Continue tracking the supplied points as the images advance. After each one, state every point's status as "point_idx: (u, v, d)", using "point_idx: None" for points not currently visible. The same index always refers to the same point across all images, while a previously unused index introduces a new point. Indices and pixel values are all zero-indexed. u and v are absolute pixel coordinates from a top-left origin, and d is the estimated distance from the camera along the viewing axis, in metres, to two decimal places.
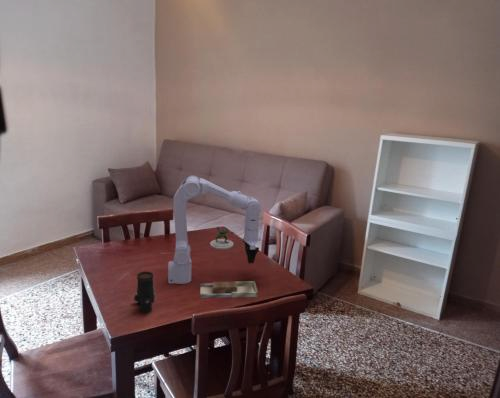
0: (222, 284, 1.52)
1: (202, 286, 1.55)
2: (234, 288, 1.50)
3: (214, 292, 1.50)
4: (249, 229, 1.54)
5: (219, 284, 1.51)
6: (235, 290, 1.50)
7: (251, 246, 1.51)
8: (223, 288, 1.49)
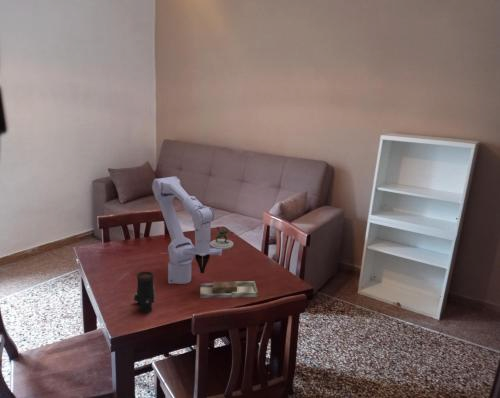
0: (222, 284, 1.52)
1: (202, 286, 1.55)
2: (234, 288, 1.50)
3: (214, 292, 1.50)
4: (195, 238, 1.44)
5: (219, 284, 1.51)
6: (235, 290, 1.50)
7: (183, 250, 1.46)
8: (223, 288, 1.49)
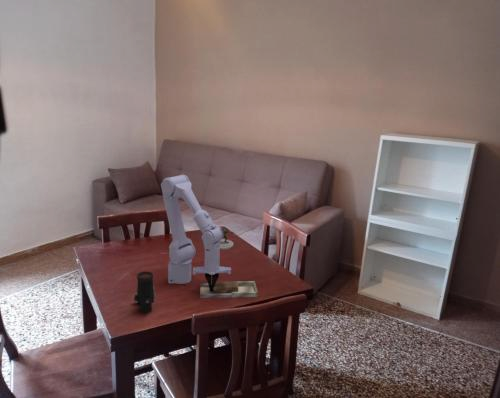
0: (224, 284, 1.52)
1: (202, 286, 1.55)
2: (235, 288, 1.50)
3: (216, 292, 1.50)
4: (205, 258, 1.46)
5: (221, 284, 1.51)
6: (236, 290, 1.50)
7: None
8: (225, 288, 1.50)
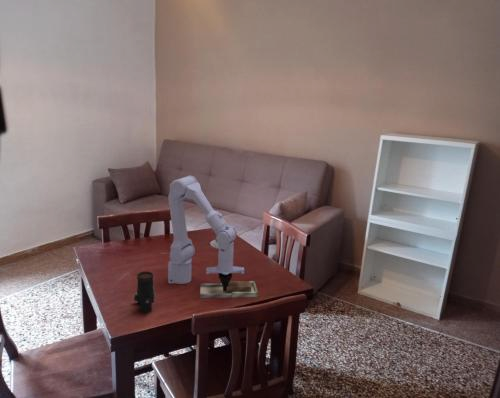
0: (237, 284, 1.52)
1: (202, 286, 1.55)
2: (248, 287, 1.51)
3: (229, 291, 1.50)
4: (219, 258, 1.47)
5: (234, 284, 1.52)
6: (249, 290, 1.51)
7: (206, 269, 1.50)
8: (238, 288, 1.50)
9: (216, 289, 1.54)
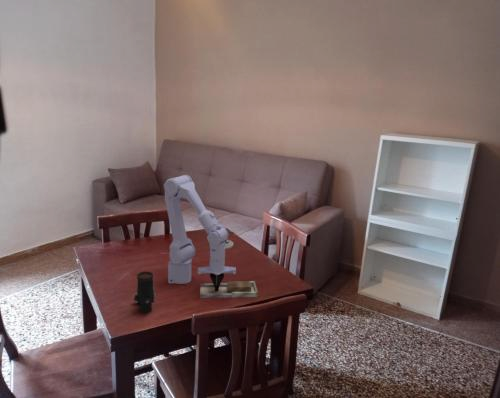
0: (237, 284, 1.52)
1: (202, 286, 1.55)
2: (248, 287, 1.51)
3: (229, 291, 1.50)
4: (211, 258, 1.46)
5: (234, 284, 1.52)
6: (249, 290, 1.51)
7: (198, 269, 1.49)
8: (238, 288, 1.50)
9: None
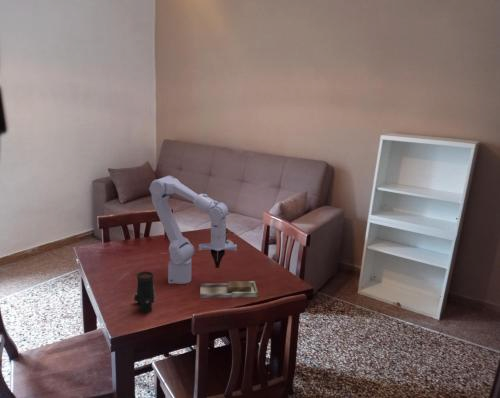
0: (237, 284, 1.52)
1: (202, 286, 1.55)
2: (248, 287, 1.51)
3: (229, 291, 1.50)
4: (212, 235, 1.47)
5: (234, 284, 1.52)
6: (249, 290, 1.51)
7: (199, 245, 1.50)
8: (238, 288, 1.50)
9: (216, 289, 1.54)
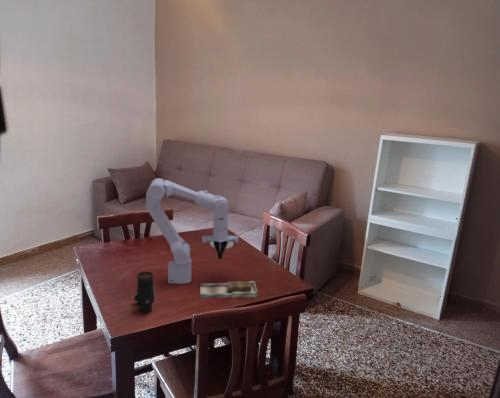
0: (237, 284, 1.52)
1: (202, 286, 1.55)
2: (248, 287, 1.51)
3: (229, 291, 1.50)
4: (217, 228, 1.53)
5: (234, 284, 1.52)
6: (249, 290, 1.51)
7: (202, 238, 1.57)
8: (238, 288, 1.50)
9: (216, 289, 1.54)
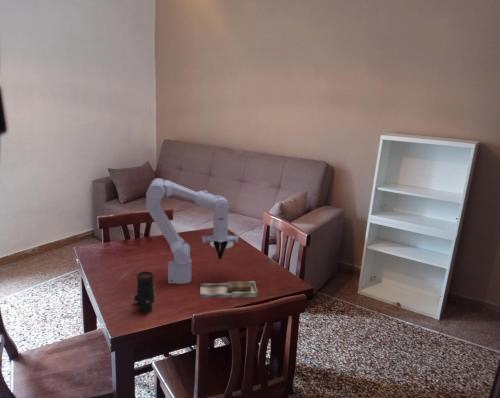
0: (237, 284, 1.52)
1: (202, 286, 1.55)
2: (248, 287, 1.51)
3: (229, 291, 1.50)
4: (217, 228, 1.53)
5: (234, 284, 1.52)
6: (249, 290, 1.51)
7: (202, 238, 1.57)
8: (238, 288, 1.50)
9: (216, 289, 1.54)
